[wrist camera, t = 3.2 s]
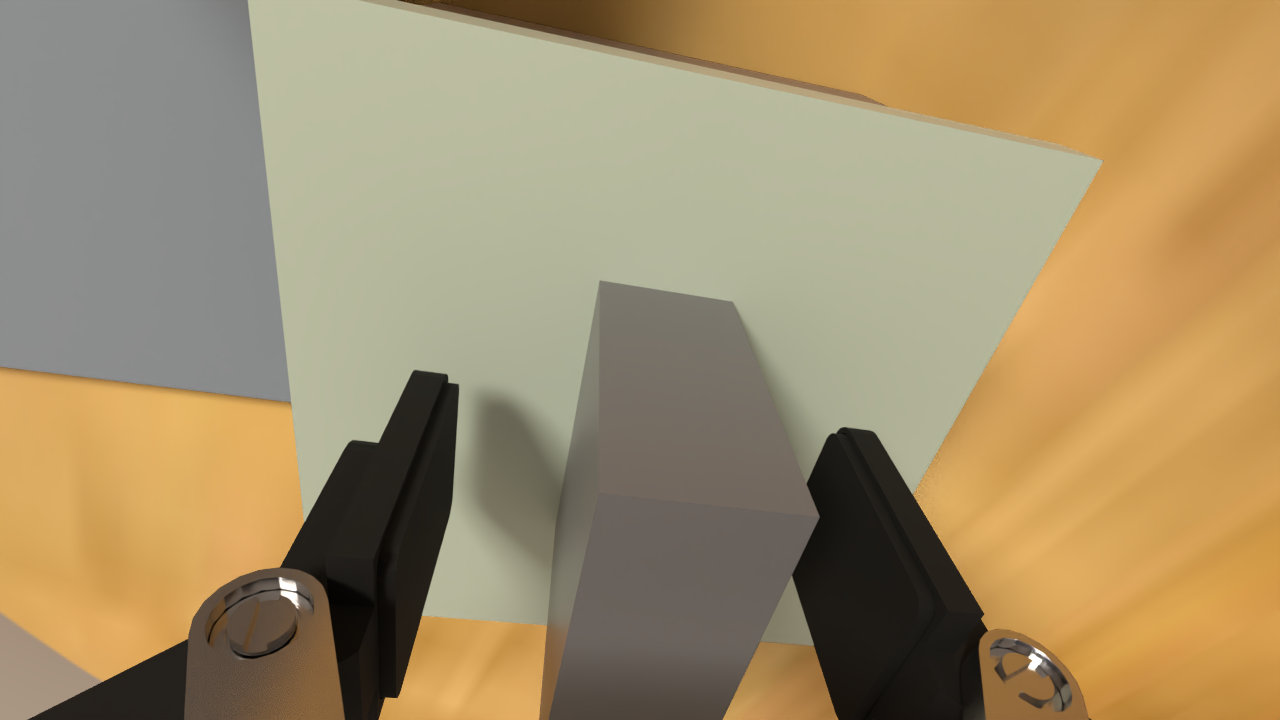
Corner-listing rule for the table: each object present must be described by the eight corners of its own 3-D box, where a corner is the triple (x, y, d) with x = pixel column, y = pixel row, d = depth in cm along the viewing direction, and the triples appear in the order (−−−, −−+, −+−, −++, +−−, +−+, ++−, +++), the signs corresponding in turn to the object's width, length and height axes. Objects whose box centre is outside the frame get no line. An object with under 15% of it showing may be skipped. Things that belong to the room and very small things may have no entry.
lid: (1025, 131, 12) (1495, 303, 6) (803, 579, 19) (907, 888, 12) (311, -25, 10) (-171, -25, 4) (345, 536, 17) (190, 877, 10)
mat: (398, -52, 16) (387, -54, 15) (398, 398, 23) (390, 414, 22) (-265, -204, 14) (-322, -215, 13) (-38, 343, 21) (-66, 358, 20)
